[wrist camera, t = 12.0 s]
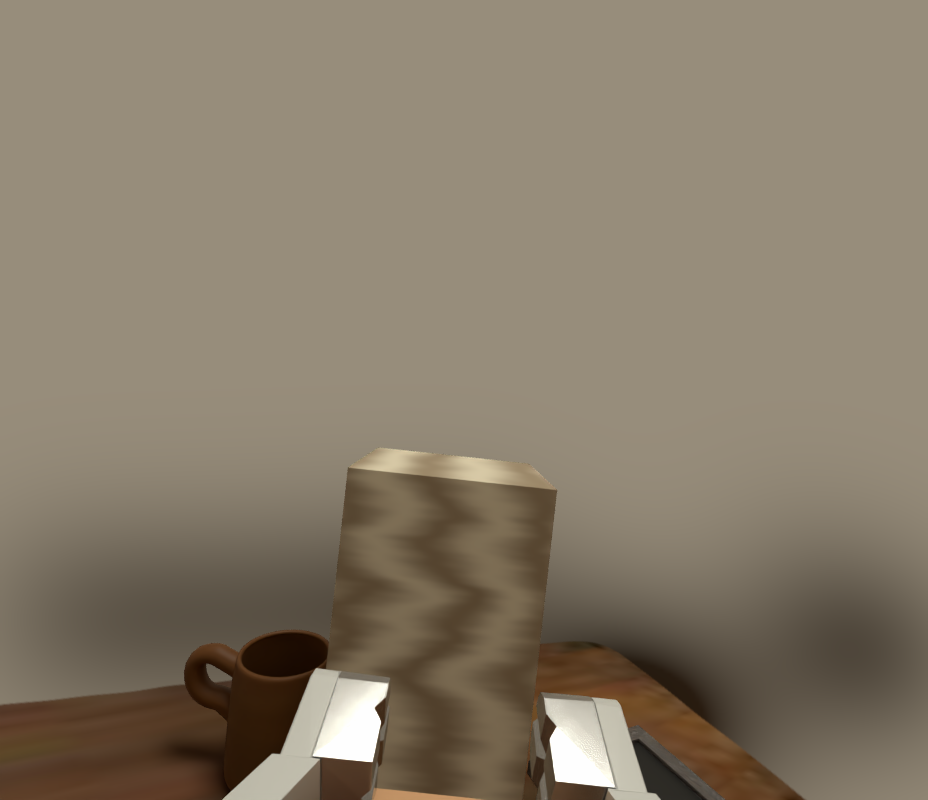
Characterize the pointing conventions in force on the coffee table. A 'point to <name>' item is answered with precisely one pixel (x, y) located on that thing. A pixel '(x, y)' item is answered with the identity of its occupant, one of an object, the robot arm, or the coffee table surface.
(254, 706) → the mug
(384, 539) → the pedestal
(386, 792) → the t bar
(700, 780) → the picture frame
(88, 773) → the coffee table surface
